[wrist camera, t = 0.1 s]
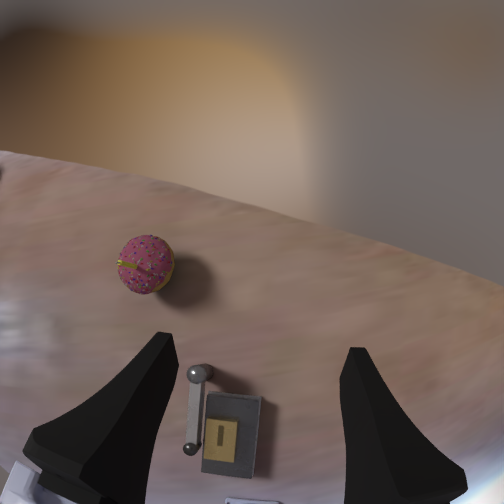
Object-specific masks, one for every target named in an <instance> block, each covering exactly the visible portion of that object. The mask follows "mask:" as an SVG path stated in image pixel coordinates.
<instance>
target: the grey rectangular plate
mask: <svg viewBox="0 0 504 504" xmlns="http://www.w3.org/2000/svg"><path fill="white" fill-rule="evenodd" d="M260 407H261V396H253V395H243V394H233V393H224V392H216V391H209V392H208V395H207V401H206V413H205V426H204V439H203V453H202V468H201V472H204V473H210V474H217V475H224V476H232V477H240V478H250V479H251V478H252V475H254V466H255V457H256V447H257V437H258V428H259V417H260ZM209 416H211V417H218V418H226V419H235V420H238V431H237V442H236V453H235V460H234V463H233V462H225V461H218V460H211V459H204V446H205V433H206V420H207V418H208V417H209Z"/></svg>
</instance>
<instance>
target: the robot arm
mask: <svg viewBox="0 0 504 504" xmlns="http://www.w3.org/2000/svg"><path fill="white" fill-rule="evenodd" d="M178 367H179V363H178V359H177V354H176V350H175V345H174V341H173V336H172V334H171V333H164V332H157V333H156V334H155V335H154V336H153V337H152V339H151V340H150V341H149V342H148V343H147V344H146V345H145V346H144V348H143V349H142V350H141V351H140V352H139V353H138V354H137V355H136V356H135V357H134V358H133V359H132V361H131V362H130V363H129V364H128V365H127V366H126V367H125V368H124V369H123V370H122V371H121V372H120V373H119V374H118V375H116V376H115V377H114V378H113V379H112V380H111V381H110V382H109V383H108V384H107V385H105V386H104V387H103V388H102V389H101V390H99V391H98V392H97V393H96V394H94V395H93V396H92V397H90V398H89V399H87V400H86V401H85V402H83V403H82V404H80V405H79V406H77V407H76V408H74V409H72V410H71V411H69V412H67V413H65V414H64V415H62V416H60V417H58V418H56V419H54V420H52V421H50V422H48V423H45V424H43V425H41V426H38V427H36V428H34V429H33V430H32V432H31V434H30V436H29V438H28V440H27V442H26V444H25V446H24V449H23V454H24V455H25V456H26V457H27V458H28V459H30V460H31V461H32V462H33V463H35V464H36V465H37V466H38V467H40V468H41V469H42V473H41V474H39V473H38V472H36V471H34V470H33V469H31V468H29V467H27V466H26V465H24V464H22V463H21V462H19V461H16V462H15V464H14V466H13V468H12V471H11V473H10V475H9V478H8V480H7V482H6V485H5V487H4V489H3V492H2V494H1V497H0V503H1V504H145V497H146V488H147V481H148V475H149V469H150V463H151V458H152V453H153V449H154V444H155V440H156V436H157V432H158V429H159V426H160V423H161V421H162V418H163V415H164V412H165V410H166V407H167V404H168V402H169V399H170V396H171V393H172V391H173V388H174V384H175V380H176V376H177V371H178ZM340 404H341V411H342V419H343V427H344V435H345V443H346V483H345V498H344V504H450V501H452V500H454V499H456V498H457V497H459V496H461V495H462V494H464V493H465V492H466V491H467V490H468V486H467V480H466V475H465V472H464V469H462V468H461V467H460V466H458V465H457V464H455V463H454V462H453V461H451V460H450V459H449V458H447V457H446V456H445V455H444V454H443V453H442V452H440V451H439V450H438V449H437V448H436V447H435V446H434V445H433V444H432V443H431V442H430V441H429V440H428V439H427V438H426V437H425V436H424V435H423V434H422V433H421V432H420V431H419V429H418V428H417V427H416V426H415V425H414V424H413V422H412V421H411V420H410V419H409V418H408V416H407V415H406V414H405V412H404V411H403V410H402V408H401V407H400V405H399V404H398V402H397V401H396V400H395V398H394V396H393V395H392V393H391V392H390V390H389V389H388V387H387V385H386V384H385V382H384V381H383V379H382V377H381V375H380V374H379V372H378V370H377V368H376V367H375V365H374V363H373V361H372V359H371V357H370V356H369V354H368V352H367V350H366V349H365V348H361V347H350V350H349V353H348V356H347V359H346V361H345V364H344V367H343V370H342V373H341V375H340ZM227 502H230V503H227ZM225 504H279V502H277V501H261V500H249V499H239V498H230V497H228V498H226V500H225Z"/></svg>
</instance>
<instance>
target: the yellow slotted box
mask: <svg viewBox="0 0 504 504" xmlns="http://www.w3.org/2000/svg"><path fill="white" fill-rule="evenodd" d="M237 431H238V420H235V419H226V418H218V417H211V416H209V417H208V418H207V420H206V433H205V446H204V459H211V460H218V461H225V462H233V463H234V460H235V453H236V442H237Z"/></svg>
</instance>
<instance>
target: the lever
mask: <svg viewBox="0 0 504 504" xmlns="http://www.w3.org/2000/svg"><path fill="white" fill-rule="evenodd" d="M212 376H213V368H212V367H211V366H210V365H208V364H200V365H194V366H191V367H190V368H189V369H188V371H187V378H188V380H189V381H190V391H189V403H188V416H187V430H186V444H185V445H184V447H183V451H184V453H185V454H187V455H189V456H193V455H195V454H196V453H197V451H198V450H199V449H200V447H201V446H202V443H201V431H202V418H203V406H204V394H205V382H206V380H208V379H210V378H211V377H212Z"/></svg>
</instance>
